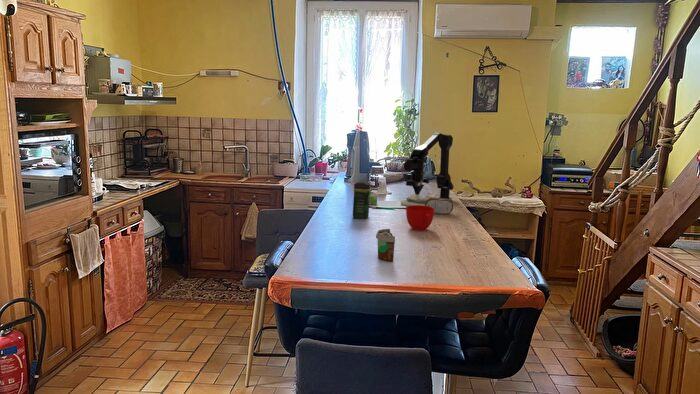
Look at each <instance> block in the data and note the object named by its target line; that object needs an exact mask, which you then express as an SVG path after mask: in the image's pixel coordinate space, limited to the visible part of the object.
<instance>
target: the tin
mask: <svg viewBox="0 0 700 394" xmlns="http://www.w3.org/2000/svg"><path fill="white" fill-rule="evenodd" d="M425 206H429V207H432V208H434V215H435V214H436V215H449V214H451V213H452V212H453V210H454V203H453V201H452V199H445V198H438V197H435V198H429V199H428V200H427V201H426V203H425Z"/></svg>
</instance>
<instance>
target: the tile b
mask: <svg viewBox="0 0 700 394" xmlns="http://www.w3.org/2000/svg"><path fill="white" fill-rule="evenodd" d="M425 198H426V199H425V200H428V199H429V198H436V195H432V194H426V195H425Z"/></svg>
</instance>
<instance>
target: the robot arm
mask: <svg viewBox="0 0 700 394" xmlns="http://www.w3.org/2000/svg"><path fill="white" fill-rule="evenodd" d="M453 141H454V138H453V136H452V135H451V134H445V133H444V134H443V133H440V132H434V133H432V135H431V136H430V137H429V138H428V139H427V140H426V141H425V142H424V143H423V144H422V145H418V146H417V147H415V148H413V150H412V152H411V154H410V157H408V158H407V159H406V161H405V162H404V164H403V169H404V171H406V172H411V174H410V173H409V174H408V173H404V174H403V176H402V179H403V180H404V182H405V186H407V187H412V188H413V190H414V194H418V195H419V196H420V193H421V191H422V189H423V187H425V184H426V185H427V184H430V179H429V178H428V177H427V178H426V177H424V174H426V173H425V171H424V168H425V167H424V165H425V163H426V162H427V160H426V159H425V158H427V156H428V154H429V151H430V150H431V149H432V148H434V146H435V145H436V144H438V146H439V148H440V166H439V167H440V168H439V171H440V172H439V174H438V175H436V179H435V180H436V181H435V182H436V187H437V189H440V191H439V197H437V198H445V199H449V200H452V197H450V192H451V191H452V190H454V184H453V183H452V178H451V175H450V174H449V166H450V162H449V161H450V149H451V148H452V146H453ZM423 183H424V184H423Z"/></svg>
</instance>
